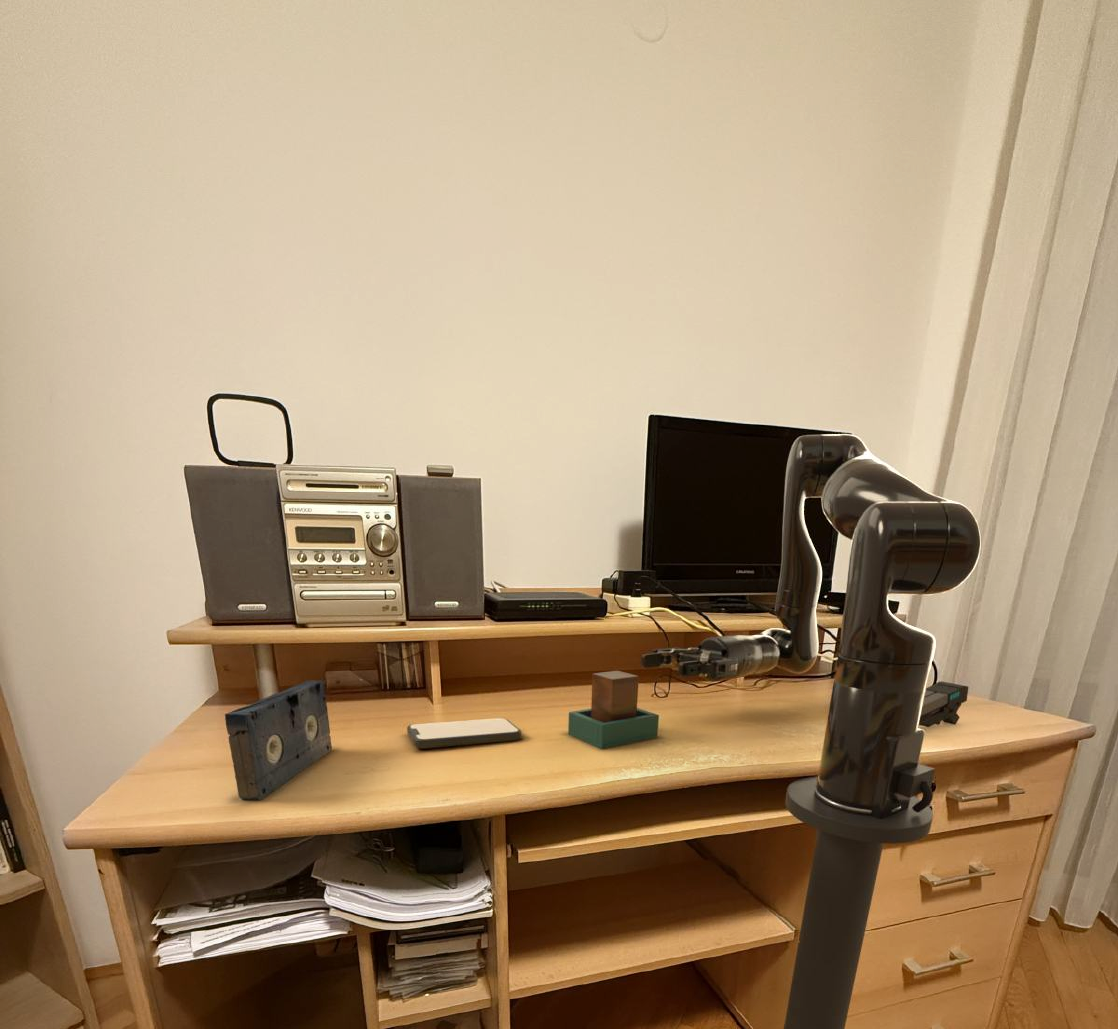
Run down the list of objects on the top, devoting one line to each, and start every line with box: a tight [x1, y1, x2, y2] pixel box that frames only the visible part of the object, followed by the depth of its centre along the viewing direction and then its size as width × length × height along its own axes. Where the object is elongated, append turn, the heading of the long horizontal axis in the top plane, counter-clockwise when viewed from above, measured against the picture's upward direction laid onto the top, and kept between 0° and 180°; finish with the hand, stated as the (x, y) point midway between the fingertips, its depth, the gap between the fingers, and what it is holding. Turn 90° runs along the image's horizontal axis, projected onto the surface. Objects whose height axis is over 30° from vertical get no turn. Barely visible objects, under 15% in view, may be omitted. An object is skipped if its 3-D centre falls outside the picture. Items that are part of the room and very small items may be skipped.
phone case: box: [406, 717, 522, 749], centre depth 89 cm, size 9×2×16 cm
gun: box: [918, 681, 969, 728], centre depth 97 cm, size 4×20×10 cm, turn 118°
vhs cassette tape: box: [224, 679, 333, 801], centre depth 73 cm, size 18×3×10 cm, turn 174°
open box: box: [567, 707, 660, 750], centre depth 91 cm, size 8×11×4 cm
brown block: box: [590, 670, 640, 723], centre depth 90 cm, size 5×5×9 cm
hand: (660, 665), depth 93 cm, fingers open, 8 cm apart
